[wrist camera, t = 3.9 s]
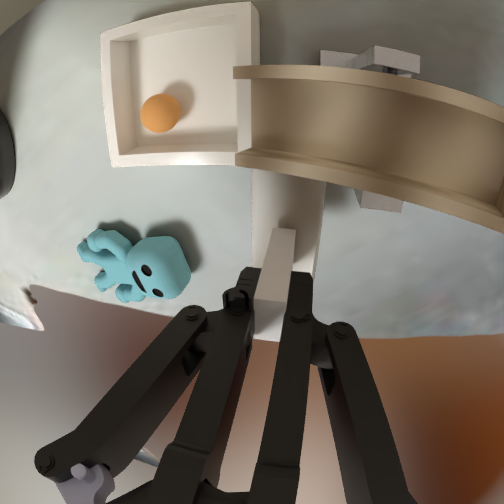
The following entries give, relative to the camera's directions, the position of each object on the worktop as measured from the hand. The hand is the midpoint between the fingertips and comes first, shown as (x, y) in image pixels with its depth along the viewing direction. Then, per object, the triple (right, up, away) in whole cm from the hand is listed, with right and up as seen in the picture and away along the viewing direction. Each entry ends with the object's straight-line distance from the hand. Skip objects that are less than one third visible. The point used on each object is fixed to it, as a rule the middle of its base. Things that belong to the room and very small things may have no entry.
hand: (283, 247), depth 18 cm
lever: (+5, +3, -3) cm, 7 cm away
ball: (-9, +10, +1) cm, 14 cm away
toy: (-15, -1, +13) cm, 20 cm away
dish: (-7, +13, +2) cm, 15 cm away
